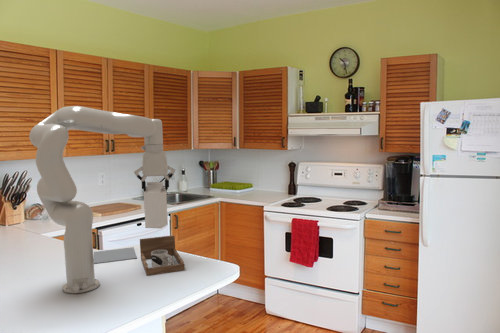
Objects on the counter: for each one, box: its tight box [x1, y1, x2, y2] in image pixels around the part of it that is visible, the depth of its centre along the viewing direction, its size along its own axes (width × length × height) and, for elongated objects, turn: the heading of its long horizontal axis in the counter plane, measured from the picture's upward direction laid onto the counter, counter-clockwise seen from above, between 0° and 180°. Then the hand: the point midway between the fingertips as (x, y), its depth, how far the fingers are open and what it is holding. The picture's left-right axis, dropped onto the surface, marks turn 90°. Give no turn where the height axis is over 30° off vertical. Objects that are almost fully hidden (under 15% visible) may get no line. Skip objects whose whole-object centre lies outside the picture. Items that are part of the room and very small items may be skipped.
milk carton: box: [143, 181, 168, 229], centre depth 184 cm, size 7×7×19 cm
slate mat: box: [93, 246, 138, 265], centre depth 197 cm, size 18×18×1 cm
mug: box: [151, 250, 174, 268], centre depth 177 cm, size 10×7×7 cm, turn 62°
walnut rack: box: [139, 234, 186, 276], centre depth 182 cm, size 22×15×9 cm, turn 19°
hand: (155, 189), depth 184 cm, fingers closed on milk carton, 8 cm apart
